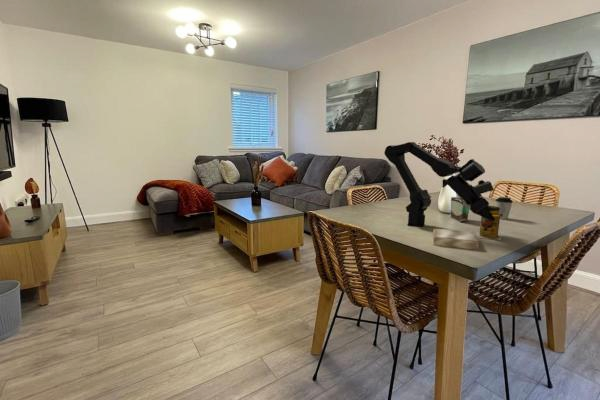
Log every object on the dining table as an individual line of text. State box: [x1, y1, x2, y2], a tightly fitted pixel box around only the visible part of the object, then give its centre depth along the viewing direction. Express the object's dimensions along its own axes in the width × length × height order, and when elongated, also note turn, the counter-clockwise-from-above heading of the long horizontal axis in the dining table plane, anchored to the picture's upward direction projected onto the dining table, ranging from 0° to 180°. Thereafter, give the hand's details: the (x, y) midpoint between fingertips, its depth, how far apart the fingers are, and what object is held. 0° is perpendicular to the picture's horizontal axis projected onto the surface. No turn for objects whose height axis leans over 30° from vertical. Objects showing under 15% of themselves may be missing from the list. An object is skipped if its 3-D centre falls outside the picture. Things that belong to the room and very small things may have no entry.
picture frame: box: [432, 228, 480, 251], centre depth 109 cm, size 14×12×3 cm
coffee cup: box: [495, 196, 513, 221], centre depth 141 cm, size 7×7×10 cm
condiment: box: [475, 205, 503, 241], centre depth 115 cm, size 7×8×12 cm
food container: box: [450, 196, 470, 223], centre depth 139 cm, size 12×6×10 cm, turn 179°
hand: (491, 217), depth 114 cm, fingers open, 9 cm apart
